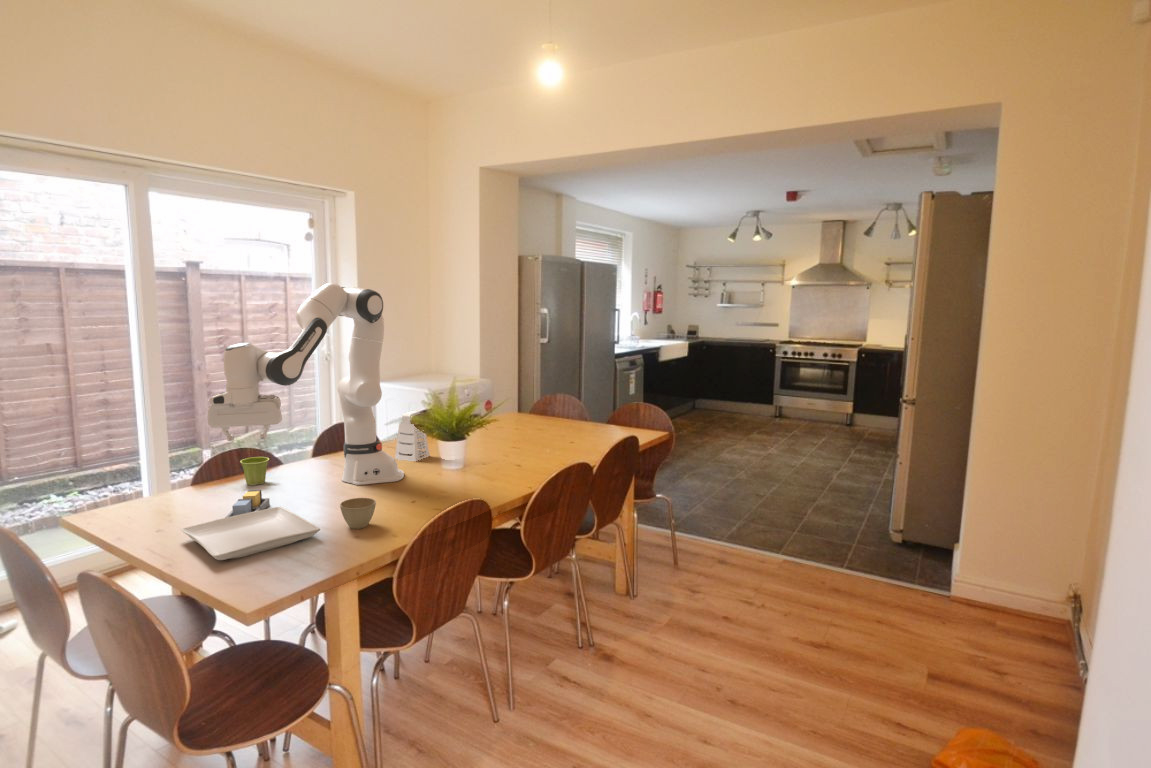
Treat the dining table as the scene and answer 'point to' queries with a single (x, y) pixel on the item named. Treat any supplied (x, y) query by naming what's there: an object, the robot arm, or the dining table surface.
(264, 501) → the grey flat frame
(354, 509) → the flower pot
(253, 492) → the yellow block
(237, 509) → the plug slate
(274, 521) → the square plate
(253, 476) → the plant pot
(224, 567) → the dining table surface
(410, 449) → the grater
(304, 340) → the robot arm
